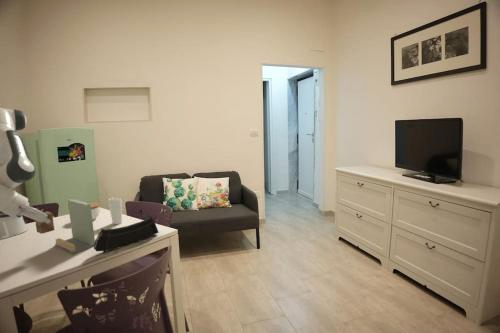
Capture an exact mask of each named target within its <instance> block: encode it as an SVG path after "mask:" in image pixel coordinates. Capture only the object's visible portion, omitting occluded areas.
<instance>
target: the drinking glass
mask: <svg viewBox="0 0 500 333" xmlns="http://www.w3.org/2000/svg"><path fill="white" fill-rule="evenodd" d="M108 206H109V207H108V208H109V211H110V218H111V223H112V224H113V225H119V224H120V225H121V224H122V223H123V204H122V198H121V197H119V196H118V197H117V196H116V197H111V198H108Z"/></svg>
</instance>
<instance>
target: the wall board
mask: <svg viewBox="0 0 500 333" xmlns="http://www.w3.org/2000/svg"><path fill="white" fill-rule="evenodd" d="M89 203H90V202H89ZM89 203H87V202H85V201H82V200H78V199H72V198H71V199H67V204H68V212H69V213H68V214H69V220H70V229H71V234H72V236H71V237H70V238H68V239H65V240H64V239H62V238H60V237H57V238H55V244H54V245H55V246H56V247H57V248H60V249H62V250H65V251H67V252H69V253H71V254H73V255H75V254H77V253H79V252H82V251H85V250H87V249H89V248H90V249H91V248H94V244H95V240H96V238H95V231H94V224H93V223H94V222H93V221H94V220H92V213H91V205H90V204H89Z"/></svg>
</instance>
